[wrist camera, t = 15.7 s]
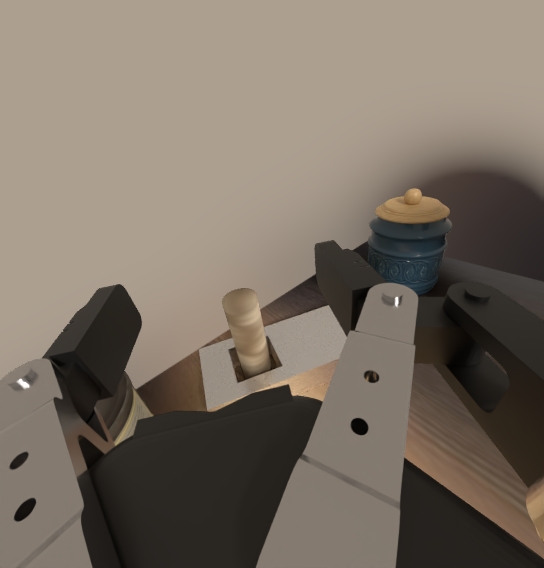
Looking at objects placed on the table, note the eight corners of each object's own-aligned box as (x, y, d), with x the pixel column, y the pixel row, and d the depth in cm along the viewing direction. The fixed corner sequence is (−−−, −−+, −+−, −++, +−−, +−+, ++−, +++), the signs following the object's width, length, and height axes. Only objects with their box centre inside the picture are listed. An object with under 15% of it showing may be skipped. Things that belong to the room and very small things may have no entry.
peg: (267, 361, 38) (251, 284, 31) (277, 382, 35) (261, 302, 27) (242, 370, 38) (219, 294, 30) (249, 393, 34) (225, 314, 27)
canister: (351, 275, 55) (355, 191, 45) (398, 257, 58) (411, 176, 49) (400, 307, 44) (418, 207, 35) (452, 283, 48) (482, 186, 38)
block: (353, 314, 44) (354, 296, 42) (394, 355, 36) (398, 335, 34) (206, 367, 39) (198, 349, 37) (216, 428, 31) (207, 410, 29)
